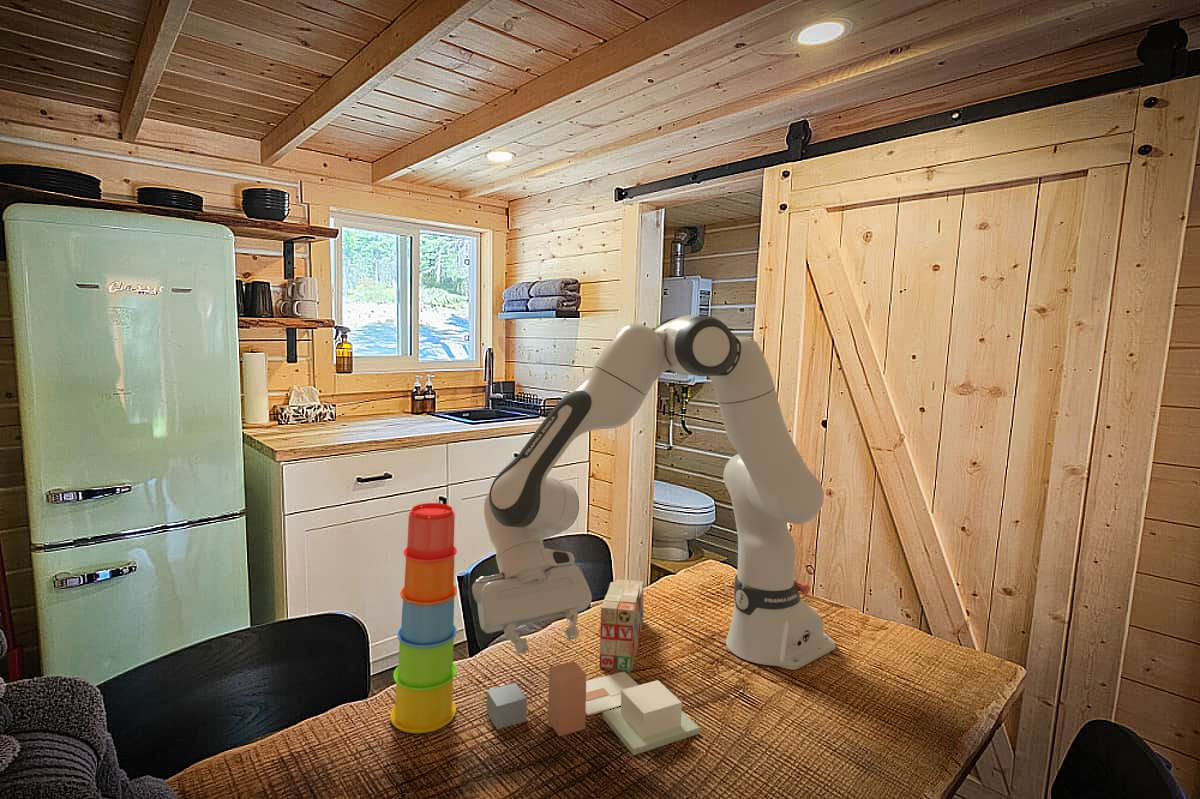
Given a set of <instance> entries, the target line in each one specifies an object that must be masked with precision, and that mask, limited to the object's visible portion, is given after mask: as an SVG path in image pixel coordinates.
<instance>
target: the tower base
mask: <svg viewBox="0 0 1200 799" xmlns="http://www.w3.org/2000/svg"><path fill="white" fill-rule="evenodd" d="M682 706H683V702H682V701H681V700H680V699H679V698H678V697H677V696H675V694H673V693H672V691H670V689H668V688H667V687H666V686H665V685H664V684H663V683H661V681H660V680H658V679H656V680H653V681H650V682H646V683H642V684H638V686H634V687H630V688H627V689H623V690H621V707H618V708H614V709H611V710H607V711H604V712H602V719H603V720H604V722H605V723H606V724H607V725H608V726H609V728H610V729H611V730H612V732H613V733H615V735H616V736H617V738H619V740H620V741H621V742H622V744H623V745H624V746H625V747H626V749H628V751H629V752H630V753H631V755H632V756H636V755H639V754H641V753H644V752H648V751H651V750H654V749H657V748H660V747H663V746H666V745H670V744H672V743H675V742H678V741H681V740H684V739H688V738H690V737H694V736H696V735H699V734H700V728H701V727H700V726H698V724H696V722H694V720H693V719H691V718H690V717H689V716H688V715H687V714H686V713H685V712H684V711H683V710H682Z"/></svg>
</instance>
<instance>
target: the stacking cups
mask: <svg viewBox="0 0 1200 799" xmlns="http://www.w3.org/2000/svg"><path fill="white" fill-rule="evenodd" d="M455 518H456V517H455V511H454V510H453V507H452V506H450V505H448V504H446V503H445V504H444V503H440V502H439V503H437V502H434V503H433V502H429V503H428V502H427V503H421V504H416V505H414V506H412V508H411V510H410V511H409V513H408V524H407V526H408V527H407V541H406V542H407V544H406V545H407V546H406V548H404V550H403V555H404V557H405V568H404V569H405V570H404V571H405V572H404V584H403V585H404V586H403V587H402V588H401V590H400V598H401V599H402V608H401V626H400V628H399V629H398V630H397V634H396V635H397V636H396V637H397V640H398V642H399V644H398V645H399V648H398V649H399V650H398V666H397V667H396V668H395V670H394V672H393V680H394V682H395V683H396V684H395V699H394V700H395V704H394V706H393V708H392V709H391V711H390V715H389V716H390V717H389V718H390V722H391V723H392V726H394V727H395V728H396V729H397V730H399V731H401V732H405V733H407V734H408V733H409V734H427V733H428V734H429V733H432V732H434V731H437V730H440V729H442V728H443V727H446V726H447V725H448V724H449V723H450V722H452V720H453V719H454V717H455V716H456V712H457V706H456V703H455V702H454V700H453V680H454V679H455V677H456V675H457V671H458V670H457V666H456V664H455V663H454V639H455V637H456V636H457V633H458V632H457V627H456V625H455V624H454V620H455V619H454V618H455V617H454V615H455V597H456V595H457V593H458V588H457V586H455V585H454V584H455V582H454V581H455V557H456V554H457V552H458V550H457V547H456V546H455Z"/></svg>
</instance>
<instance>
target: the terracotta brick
mask: <svg viewBox="0 0 1200 799" xmlns="http://www.w3.org/2000/svg"><path fill="white" fill-rule="evenodd" d="M586 681H587V673H586V672H585V671H584V670H583V669H582V668H581V666H580V665H579V664H577V662H576V661H573V660H572V661H570V662H566V663H561V664H558V665H557V664H556V665H552V666H549V667H548V692H547V693H548V700H547V702H548V703H547V707H548V708H547V721H548V722H550V723H549V724H550V726H551V727H552V729H553V731H555V733H556V735H557V736H558V737H562V736H566V735H569V734H572V733H576V732H579V731H583V730H586V716H587V715H586Z"/></svg>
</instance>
